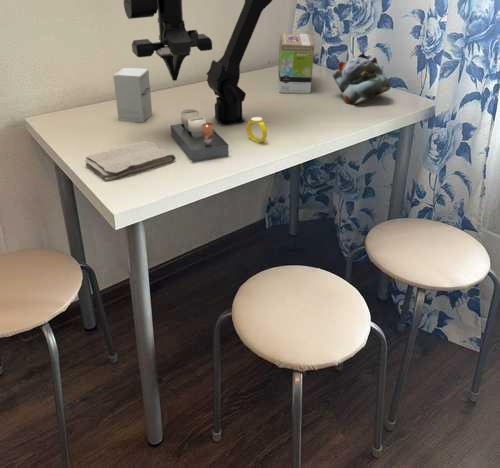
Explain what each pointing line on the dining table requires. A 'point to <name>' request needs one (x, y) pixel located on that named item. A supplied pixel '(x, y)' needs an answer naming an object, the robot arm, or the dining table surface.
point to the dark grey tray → (198, 144)
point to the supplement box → (133, 94)
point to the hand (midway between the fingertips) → (174, 80)
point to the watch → (263, 127)
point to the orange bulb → (207, 133)
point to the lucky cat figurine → (360, 79)
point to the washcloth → (128, 160)
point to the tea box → (295, 63)
